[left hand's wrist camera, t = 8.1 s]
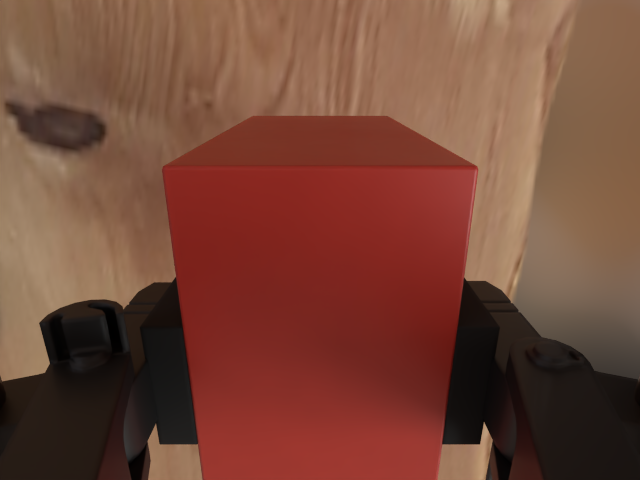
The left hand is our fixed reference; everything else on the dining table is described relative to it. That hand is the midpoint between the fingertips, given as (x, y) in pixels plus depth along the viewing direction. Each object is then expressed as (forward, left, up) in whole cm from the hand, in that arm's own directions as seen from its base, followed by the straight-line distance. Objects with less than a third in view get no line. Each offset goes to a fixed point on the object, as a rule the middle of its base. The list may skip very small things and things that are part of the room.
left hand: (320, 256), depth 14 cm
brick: (0, 0, -3) cm, 3 cm away
